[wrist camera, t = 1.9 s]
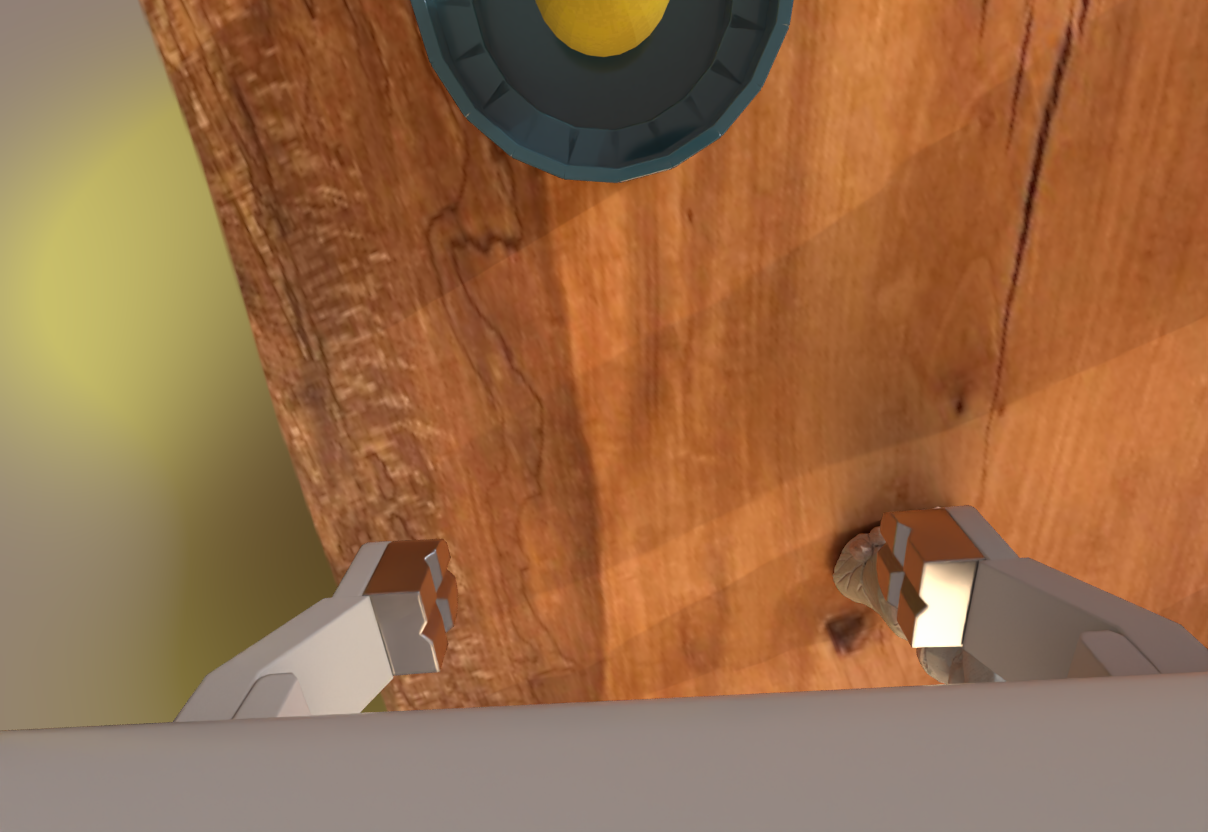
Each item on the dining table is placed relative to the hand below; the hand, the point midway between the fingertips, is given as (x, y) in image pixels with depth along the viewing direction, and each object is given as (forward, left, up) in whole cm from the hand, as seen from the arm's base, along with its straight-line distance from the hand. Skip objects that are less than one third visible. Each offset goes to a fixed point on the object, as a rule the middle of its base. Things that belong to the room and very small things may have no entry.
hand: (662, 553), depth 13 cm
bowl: (-9, -9, -25) cm, 28 cm away
